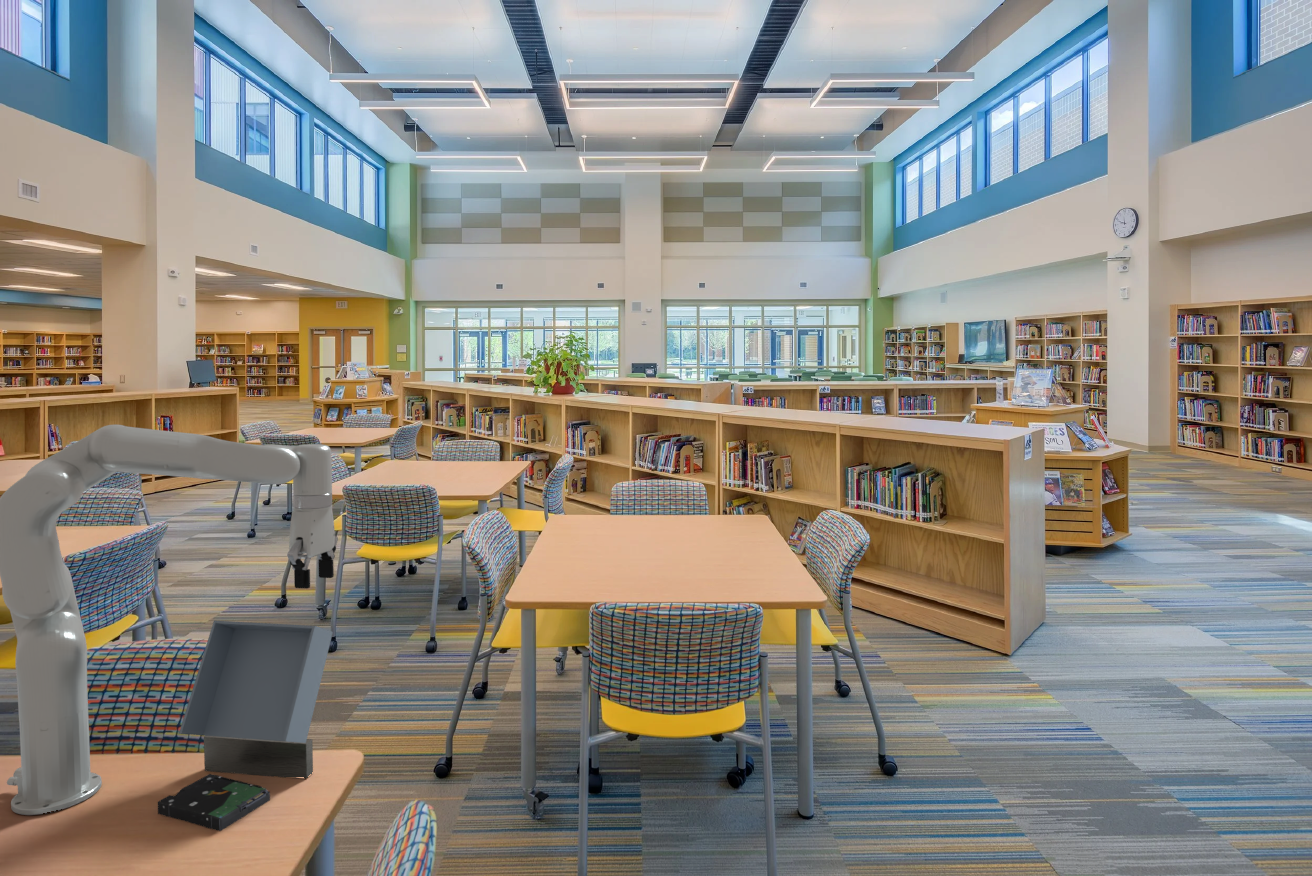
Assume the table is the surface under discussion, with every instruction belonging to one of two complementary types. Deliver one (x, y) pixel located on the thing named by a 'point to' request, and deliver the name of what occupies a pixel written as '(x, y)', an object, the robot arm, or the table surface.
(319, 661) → the cover
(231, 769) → the long flat gray bar
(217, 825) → the disk drive
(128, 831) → the table surface
